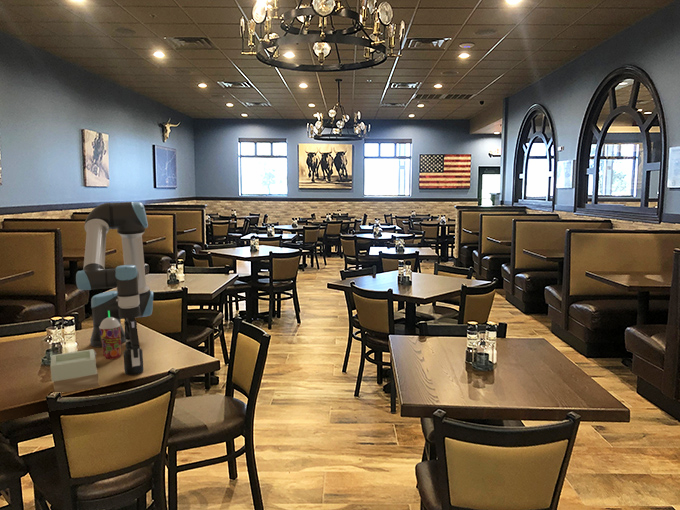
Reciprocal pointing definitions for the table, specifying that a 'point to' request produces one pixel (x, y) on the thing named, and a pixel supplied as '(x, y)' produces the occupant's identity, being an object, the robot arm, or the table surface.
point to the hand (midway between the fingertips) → (133, 360)
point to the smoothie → (110, 337)
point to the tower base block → (76, 383)
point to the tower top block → (73, 365)
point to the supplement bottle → (128, 361)
